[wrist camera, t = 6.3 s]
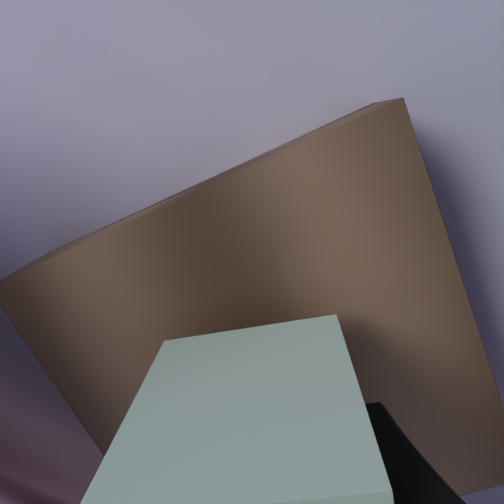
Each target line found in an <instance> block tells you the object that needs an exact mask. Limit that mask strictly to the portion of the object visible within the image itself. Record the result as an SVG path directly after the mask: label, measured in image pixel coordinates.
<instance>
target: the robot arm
mask: <svg viewBox="0 0 504 504" xmlns="http://www.w3.org/2000/svg"><path fill="white" fill-rule="evenodd" d="M365 406H366V409H367V412H368V416H369V419H370V422H371V425H372V428H373V431H374V435H375V438H376V441H377V444H378V447H379V450H380V454H381V457H382V460H383V463H384V466H385V469H386V473H387V476H388V479H389V482H390V485H391V488H392V492H393V500H394V504H466V503H465V502H464V501H463V500H462V499H461V498H460V497H459V496H458V495H457V494H456V493H455V492H454V491H453V490H452V489H451V488H450V486H449V485H448V484H447V483H446V482H445V481H444V480H443V479H442V478H441V476H440V475H439V474H438V473H437V472H436V471H435V470H434V469H433V467H432V466H431V465H430V464H429V463H428V462H427V461H426V459H425V458H424V457H423V456H422V455H421V454H420V452H419V451H418V450H417V449H416V448H415V446H414V445H413V444H412V443H411V441H410V440H409V439H408V438H407V436H406V435H405V434H404V433H403V431H402V430H401V429H400V427H399V426H398V425H397V423H396V422H395V421H394V419H393V418H392V416H391V415H390V413H389V412H388V410H387V409H386V407H385V406H384V405H383V404H381V403H380V402H374V403H366V404H365Z"/></svg>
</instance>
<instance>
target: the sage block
mask: <svg viewBox="0 0 504 504" xmlns="http://www.w3.org/2000/svg"><path fill="white" fill-rule="evenodd" d="M80 504H394V500H393V492H392V488H391V485H390V482H389V479H388V476H387V473H386V469H385V466H384V463H383V460H382V457H381V454H380V450H379V447H378V444H377V441H376V438H375V435H374V431H373V428H372V425H371V422H370V419H369V416H368V412H367V409H366V406H365V403H364V400H363V397H362V394H361V390H360V387H359V384H358V381H357V378H356V375H355V371H354V368H353V365H352V362H351V359H350V356H349V352H348V349H347V346H346V343H345V340H344V337H343V333H342V330H341V327H340V324H339V321H338V318H337V314H334V315H328V316H321V317H315V318H309V319H302V320H296V321H289V322H283V323H276V324H270V325H263V326H257V327H250V328H244V329H237V330H231V331H224V332H218V333H211V334H205V335H199V336H192V337H186V338H179V339H173V340H166V341H164V342H163V344H162V346H161V348H160V350H159V352H158V354H157V356H156V358H155V360H154V362H153V364H152V366H151V367H150V369H149V371H148V373H147V375H146V377H145V379H144V381H143V383H142V385H141V387H140V389H139V391H138V393H137V395H136V397H135V398H134V400H133V402H132V404H131V406H130V408H129V410H128V412H127V414H126V416H125V418H124V420H123V422H122V424H121V426H120V428H119V429H118V431H117V433H116V435H115V437H114V439H113V441H112V443H111V445H110V447H109V449H108V451H107V453H106V455H105V457H104V459H103V461H102V462H101V464H100V466H99V468H98V470H97V472H96V474H95V476H94V478H93V480H92V482H91V484H90V486H89V488H88V490H87V492H86V493H85V495H84V497H83V499H82V501H81V503H80Z"/></svg>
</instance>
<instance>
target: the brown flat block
mask: <svg viewBox="0 0 504 504" xmlns="http://www.w3.org/2000/svg"><path fill="white" fill-rule="evenodd" d="M0 306H1V308H2V309H3V311H4V312H5V314H6V315H7V316H8V318H9V319H10V321H11V322H12V324H13V325H14V327H15V328H16V329H17V331H18V332H19V334H20V335H21V337H22V338H23V340H24V341H25V342H26V344H27V345H28V347H29V348H30V350H31V351H32V353H33V354H34V355H35V357H36V358H37V360H38V361H39V363H40V364H41V365H42V367H43V368H44V370H45V371H46V373H47V374H48V376H49V377H50V378H51V380H52V381H53V383H54V384H55V386H56V387H57V389H58V390H59V391H60V393H61V394H62V396H63V397H64V399H65V400H66V402H67V403H68V404H69V406H70V407H71V409H72V410H73V412H74V413H75V415H76V416H77V417H78V419H79V420H80V422H81V423H82V425H83V426H84V428H85V429H86V430H87V432H88V433H89V435H90V436H91V438H92V439H93V441H94V442H95V443H96V445H97V446H98V448H99V449H100V451H101V452H102V454H103V455H104V456H105V455H106V453H107V451H108V449H109V447H110V445H111V443H112V441H113V439H114V437H115V435H116V433H117V431H118V429H119V428H120V426H121V424H122V422H123V420H124V418H125V416H126V414H127V412H128V410H129V408H130V406H131V404H132V402H133V400H134V398H135V397H136V395H137V393H138V391H139V389H140V387H141V385H142V383H143V381H144V379H145V377H146V375H147V373H148V371H149V369H150V367H151V366H152V364H153V362H154V360H155V358H156V356H157V354H158V352H159V350H160V348H161V346H162V344H163V342H164V341H166V340H173V339H179V338H186V337H192V336H199V335H205V334H211V333H218V332H224V331H231V330H237V329H244V328H250V327H257V326H263V325H270V324H276V323H283V322H289V321H296V320H302V319H309V318H315V317H321V316H328V315H334V314H337V318H338V321H339V324H340V327H341V330H342V333H343V337H344V340H345V343H346V346H347V349H348V352H349V356H350V359H351V362H352V365H353V368H354V371H355V375H356V378H357V381H358V384H359V387H360V390H361V394H362V397H363V400H364V403H365V404H366V403H374V402H380V403H381V404H383V405H384V406H385V407H386V409H387V410H388V412H389V413H390V415H391V416H392V418H393V419H394V421H395V422H396V423H397V425H398V426H399V427H400V429H401V430H402V431H403V433H404V434H405V435H406V436H407V438H408V439H409V440H410V441H411V443H412V444H413V445H414V446H415V448H416V449H417V450H418V451H419V452H420V454H421V455H422V456H423V457H424V458H425V459H426V461H427V462H428V463H429V464H430V465H431V466H432V467H433V469H434V470H435V471H436V472H437V473H438V474H439V475H440V476H441V478H442V479H443V480H444V481H445V482H446V483H447V484H448V485H449V486H450V488H451V489H452V490H453V491H454V492H455V493H456V494H457V495H458V496H461V495H465V494H469V493H473V492H476V491H480V490H484V489H488V488H491V487H495V486H499V485H502V484H504V408H503V405H502V402H501V399H500V396H499V393H498V390H497V386H496V383H495V380H494V377H493V374H492V371H491V368H490V365H489V362H488V359H487V355H486V352H485V349H484V346H483V343H482V340H481V337H480V334H479V331H478V328H477V324H476V321H475V318H474V315H473V312H472V309H471V306H470V303H469V300H468V297H467V293H466V290H465V287H464V284H463V281H462V278H461V275H460V272H459V269H458V266H457V262H456V259H455V256H454V253H453V250H452V247H451V244H450V241H449V238H448V235H447V232H446V228H445V225H444V222H443V219H442V216H441V213H440V210H439V207H438V204H437V201H436V197H435V194H434V191H433V188H432V185H431V182H430V179H429V176H428V173H427V170H426V166H425V163H424V160H423V157H422V154H421V151H420V148H419V145H418V142H417V139H416V135H415V132H414V129H413V126H412V123H411V120H410V117H409V114H408V111H407V108H406V104H405V101H404V98H398V99H393V100H387V101H382V102H377V103H372V104H370V105H368V106H366V107H364V108H362V109H359V110H357V111H355V112H353V113H351V114H349V115H346V116H344V117H342V118H340V119H338V120H336V121H333V122H331V123H329V124H327V125H325V126H323V127H320V128H318V129H316V130H314V131H312V132H310V133H307V134H305V135H303V136H301V137H299V138H297V139H294V140H292V141H290V142H288V143H286V144H284V145H281V146H279V147H277V148H275V149H273V150H271V151H268V152H266V153H264V154H262V155H260V156H258V157H255V158H253V159H251V160H249V161H247V162H245V163H242V164H240V165H238V166H236V167H234V168H232V169H230V170H227V171H225V172H223V173H221V174H219V175H217V176H214V177H212V178H210V179H208V180H206V181H204V182H201V183H199V184H197V185H195V186H193V187H191V188H188V189H186V190H184V191H182V192H180V193H178V194H175V195H173V196H171V197H169V198H167V199H165V200H162V201H160V202H158V203H156V204H154V205H152V206H149V207H147V208H145V209H143V210H141V211H139V212H136V213H134V214H132V215H130V216H128V217H126V218H123V219H121V220H119V221H117V222H115V223H113V224H110V225H108V226H106V227H104V228H102V229H100V230H97V231H95V232H93V233H91V234H89V235H87V236H84V237H82V238H80V239H78V240H76V241H74V242H71V243H69V244H67V245H65V246H63V247H61V248H58V249H56V250H54V251H52V252H50V253H48V254H46V255H44V256H42V257H40V258H39V259H37V260H35V261H33V262H32V263H30V264H28V265H26V266H25V267H23V268H21V269H20V270H18V271H16V272H14V273H13V274H11V275H9V276H7V277H6V278H4V279H2V280H0Z"/></svg>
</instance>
